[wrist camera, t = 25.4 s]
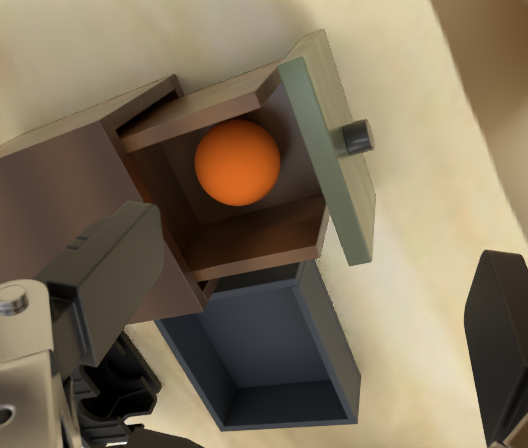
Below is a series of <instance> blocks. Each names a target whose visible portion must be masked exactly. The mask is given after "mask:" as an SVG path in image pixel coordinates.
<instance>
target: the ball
mask: <svg viewBox="0 0 528 448" xmlns="http://www.w3.org/2000/svg"><path fill="white" fill-rule="evenodd" d="M195 170H196V174H197V178H198V180H199V182H200V184H201V186H202V187H203V189H204V190H205V191H206V192H207V193H208V194H209V195H210V196H211V197H213V198H214V199H215V200H217V201H219V202H222V203H224V204H227V205H233V206H243V205H248V204H252V203H254V202H257V201H258V200H260V199H262V198H263V197H265V196H266V195H267V194H268V193H269V192H270V191H271V189H272V188H273V186H274V185H275V183H276V181H277V179H278V176H279V172H280V154H279V150H278V147H277V145H276V143H275V141H274V139H273V138H272V136H271V135H270V134H269V133H268V132H267V131H266V130H265V129H263V128H262V127H261V126H259V125H257V124H255V123H253V122H250V121H246V120H237V119H236V120H228V121H224V122H222V123H219V124H217V125H216V126H214V127H213V128H211V129H210V130H209V131H208V132H207V133H206V134H205V135H204V136H203V138H202V139H201V141H200V143H199V145H198V147H197V150H196V155H195Z"/></svg>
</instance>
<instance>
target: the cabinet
mask: <svg viewBox="0 0 528 448" xmlns="http://www.w3.org/2000/svg"><path fill="white" fill-rule="evenodd" d="M183 96H184V94H183V92H182V90H181V88H180V86H179V83H178V81H177V79H176V77H175V75H174V74H172V75H170V76H167V77H165V78H162V79H160V80H157V81H155V82H152V83H150V84H147V85H145V86H142V87H140V88H137V89H135V90H132V91H130V92H127V93H125V94H122V95H120V96H117V97H115V98H112V99H110V100H107V101H105V102H102V103H100V104H97V105H95V106H92V107H90V108H87V109H85V110H82V111H80V112H77V113H74V114H72V115H69V116H67V117H64V118H62V119H59V120H57V121H54V122H52V123H49V124H47V125H44V126H42V127H39V128H37V129H34V130H32V131H29V132H27V133H24V134H22V135H19V136H17V137H15V138H14V139H12V140H10V141H8V142H6V143H4V144H2V145H0V284H3V283H5V282H9V281H13V280H20V279H32V278H33V277H34V276H36V275H37V274H38V273H39V272H40V271H41V270H42V269H43V268H44V267H45V266H46V265H47V264H48V263H49V262H50V261H51V260H52V259H54V258H55V257H56V256H57V255H58V254H59V253H60V252H61V251H62V250H63V249H64V248H65V249H66V248H67V245H68V244H69V243H70V242H71V241H73V240H74V239H77V236H78V235H79V234H80V233H81V232H82V231H83V230H84V229H85V228H86V227H87V226H88V225H90V224H92V223H94V222H96V221H98V220H100V219H102V218H104V217H106V216H109V217H111V216H112V215H113V214H114V213H115V212H116V211H117V210H118V209H119V208H120V207H121V206H122V205H123V204H124V203H125V202H126V201H136V202H143V203H150V204H155V203H154V202H153V200H152V198H151V196H150V194H149V192H148V190H147V189H146V187H145V185H144V183H143V181H142V179H141V177H140V175H139V174H138V172H137V170H136V168H135V166H134V164H133V162H132V161H131V159H130V157H129V155H128V153H127V151H126V149H125V147H124V146H123V144H122V142H121V140H120V138H119V136H118V134H117V133H116V131H115V130H116V129H118V128H119V127H121V126H122V125H123V124H125V123H126V122H128V121H129V120H131V119H132V118H134V117H135V116H137V115H138V114H139V113H141V112H143V111H145V110H148V109H151V108H153V107H156V106H159V105H161V104H164V103H167V102H169V101H172V100H175V99H177V98H180V97H183ZM160 217H161V215H160ZM161 226H162V235H163V244H164V254H165V258H164V265H163V269H162V272H161V274H160V276H159V278H158V279H157V281H156V282H155V284H154V285H153V287H152V288H151V289H150V291H149V292H148V294H147V295H146V297H145V298H144V300H143V301H142V303H141V304H140V305H139V307H138V308H137V310H136V311H135V313H134V314H133V316H132V317H131V319H130V320H129V321H128V323H127V324H126V325H128V324H134V323H140V322H145V321H151V320H157V319H163V318H169V317H175V316H181V315H187V314H193V313H199V312H203V311H204V310H205V308H206V306H207V304H208V301H209V299H210V297H211V295H212V293H213V291H214V289H215V287H216V285H217V283H218V281H219V279H220V278H215V279H210V280H205V281H199V282H196V280H195V278H194V276H193V274H192V272H191V271H190V269H189V267H188V265H187V263H186V261H185V259H184V258H183V256H182V254H181V252H180V250H179V248H178V246H177V244H176V243H175V241H174V239H173V237H172V235H171V233H170V231H169V230H168V228H167V226H166V224H165V222H164V220H163V218H162V217H161Z"/></svg>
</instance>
